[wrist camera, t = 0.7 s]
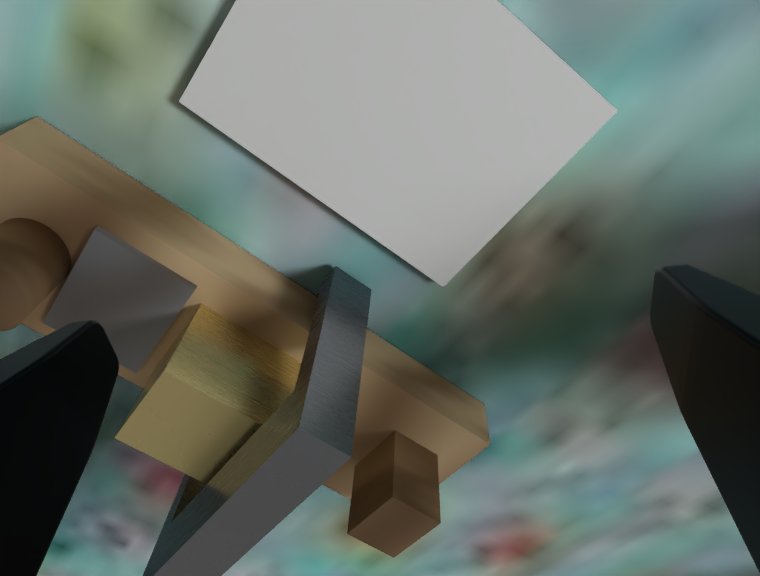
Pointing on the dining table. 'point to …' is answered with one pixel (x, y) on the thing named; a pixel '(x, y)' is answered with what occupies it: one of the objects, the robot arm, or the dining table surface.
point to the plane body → (223, 295)
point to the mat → (400, 113)
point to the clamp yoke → (276, 448)
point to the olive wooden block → (208, 395)
